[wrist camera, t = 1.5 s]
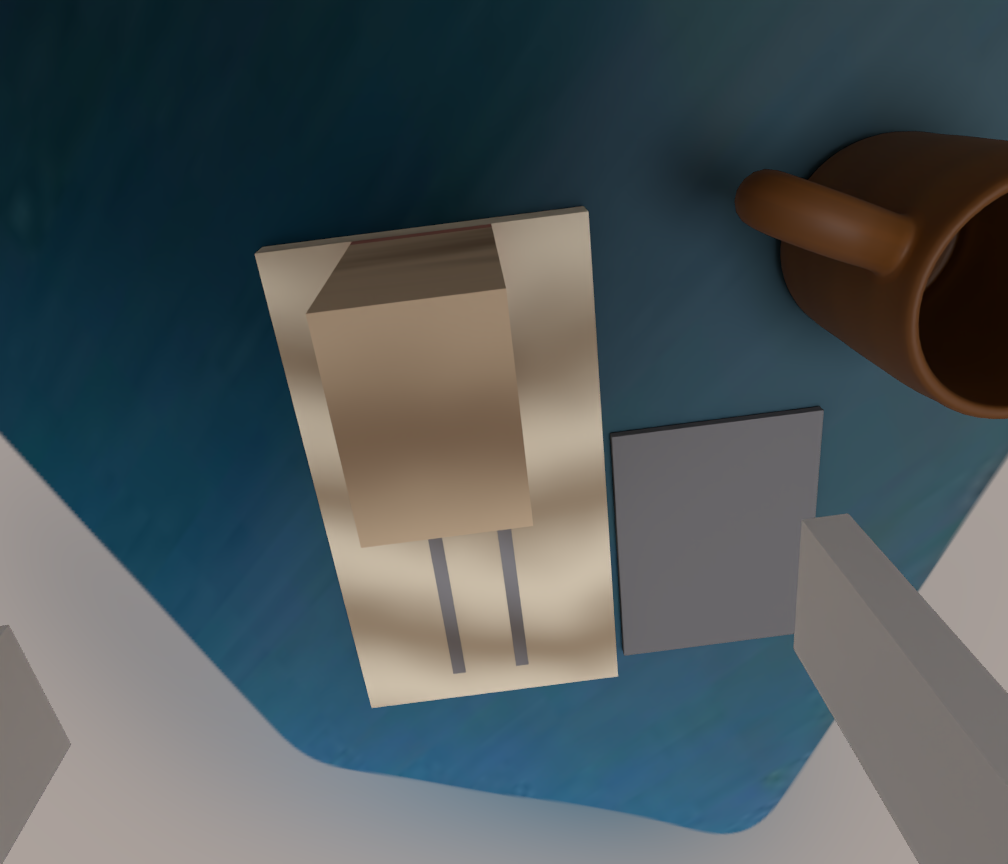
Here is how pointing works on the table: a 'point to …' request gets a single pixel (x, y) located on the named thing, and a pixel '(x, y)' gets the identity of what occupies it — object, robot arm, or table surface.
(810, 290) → the mug
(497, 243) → the board
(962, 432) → the table surface
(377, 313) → the block
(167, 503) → the table surface
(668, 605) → the mat
